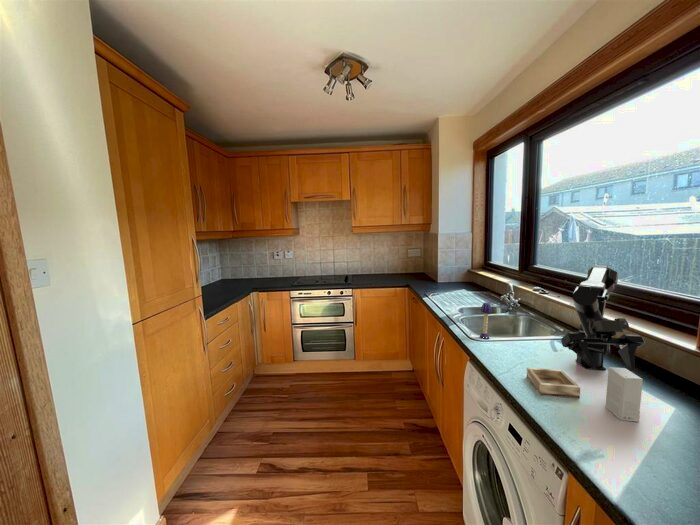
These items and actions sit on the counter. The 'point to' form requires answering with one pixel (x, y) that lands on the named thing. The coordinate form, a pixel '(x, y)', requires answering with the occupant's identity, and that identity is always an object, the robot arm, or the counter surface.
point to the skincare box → (623, 394)
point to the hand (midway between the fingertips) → (613, 370)
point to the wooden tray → (553, 383)
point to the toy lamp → (485, 318)
